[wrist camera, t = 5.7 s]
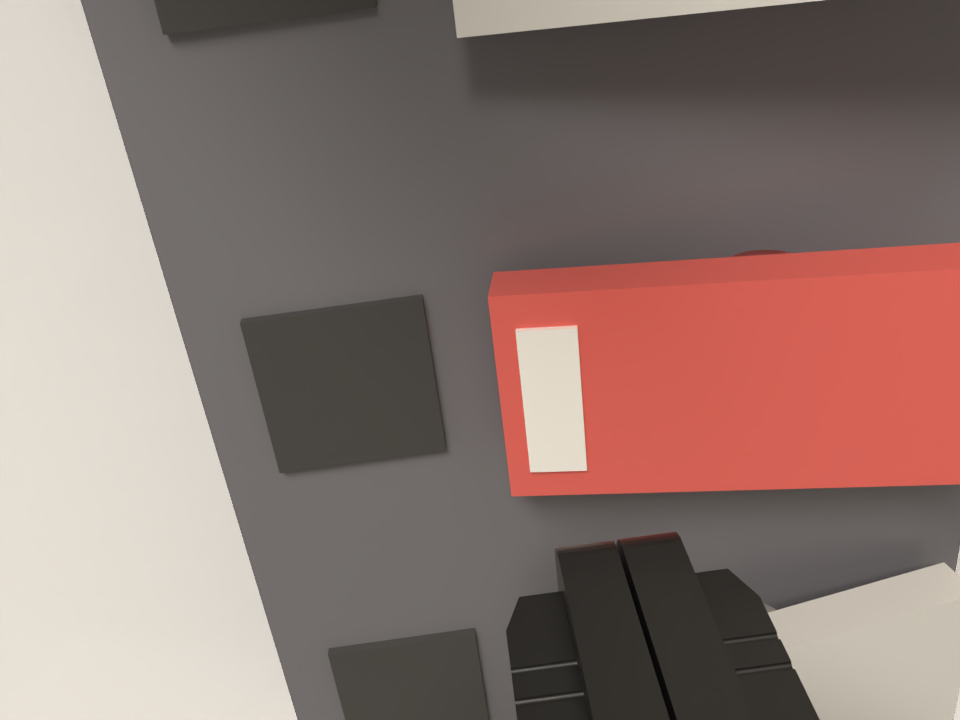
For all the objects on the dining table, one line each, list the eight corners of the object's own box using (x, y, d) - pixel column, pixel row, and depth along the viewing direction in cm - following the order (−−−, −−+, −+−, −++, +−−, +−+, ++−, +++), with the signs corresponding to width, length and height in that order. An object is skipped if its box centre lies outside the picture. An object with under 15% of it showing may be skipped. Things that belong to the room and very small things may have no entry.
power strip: (983, -515, 14) (1183, -651, 11) (853, 630, 26) (928, 753, 23) (48, -400, 14) (-75, -498, 11) (341, 703, 26) (331, 839, 22)
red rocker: (1044, 220, 15) (1099, 263, 13) (1005, 426, 17) (1048, 486, 15) (496, 256, 16) (486, 299, 14) (517, 443, 18) (510, 500, 16)
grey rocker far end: (922, 542, 20) (981, 596, 18) (902, 671, 22) (955, 731, 20) (532, 651, 18) (561, 721, 17) (547, 780, 20) (575, 853, 19)
